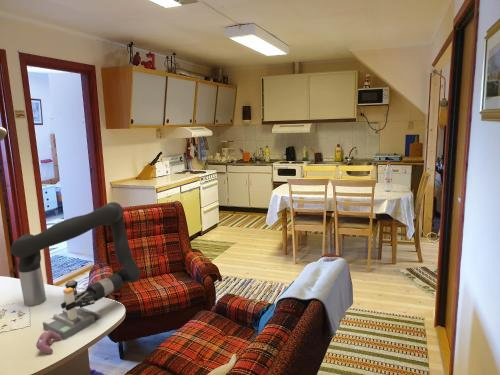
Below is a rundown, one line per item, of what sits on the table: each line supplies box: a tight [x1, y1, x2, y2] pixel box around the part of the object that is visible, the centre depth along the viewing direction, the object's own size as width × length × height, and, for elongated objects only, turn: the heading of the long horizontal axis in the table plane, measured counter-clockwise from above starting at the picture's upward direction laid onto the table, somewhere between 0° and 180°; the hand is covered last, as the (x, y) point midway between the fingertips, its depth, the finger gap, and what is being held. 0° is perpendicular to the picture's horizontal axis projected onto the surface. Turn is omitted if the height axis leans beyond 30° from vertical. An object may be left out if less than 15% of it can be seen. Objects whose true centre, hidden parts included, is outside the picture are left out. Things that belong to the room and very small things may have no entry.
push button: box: [64, 279, 78, 302], centre depth 179 cm, size 7×5×10 cm
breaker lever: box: [63, 287, 77, 322], centre depth 156 cm, size 3×3×14 cm
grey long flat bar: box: [78, 307, 102, 322], centre depth 167 cm, size 14×3×1 cm, turn 58°
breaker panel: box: [42, 308, 96, 341], centre depth 159 cm, size 15×14×4 cm
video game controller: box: [35, 330, 62, 355], centre depth 145 cm, size 10×5×7 cm, turn 5°
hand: (64, 307), depth 153 cm, fingers closed on breaker lever, 2 cm apart
